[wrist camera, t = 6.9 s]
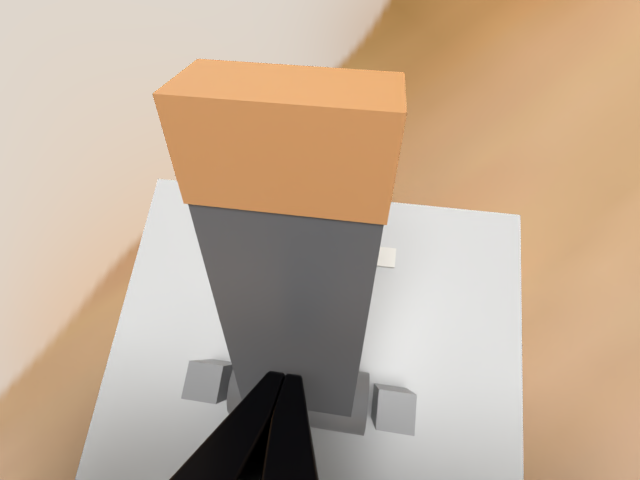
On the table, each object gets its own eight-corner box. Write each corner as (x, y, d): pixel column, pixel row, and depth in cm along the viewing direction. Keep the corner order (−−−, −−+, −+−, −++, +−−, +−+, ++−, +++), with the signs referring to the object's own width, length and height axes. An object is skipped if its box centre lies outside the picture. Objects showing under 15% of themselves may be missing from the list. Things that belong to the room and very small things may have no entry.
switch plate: (499, 658, 13) (589, 835, 8) (81, 568, 15) (-47, 675, 10) (500, 229, 17) (560, 184, 13) (176, 195, 19) (120, 144, 14)
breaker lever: (361, 445, 13) (440, 120, 5) (231, 423, 13) (118, 95, 5) (365, 389, 14) (430, 71, 6) (248, 371, 15) (177, 54, 7)
